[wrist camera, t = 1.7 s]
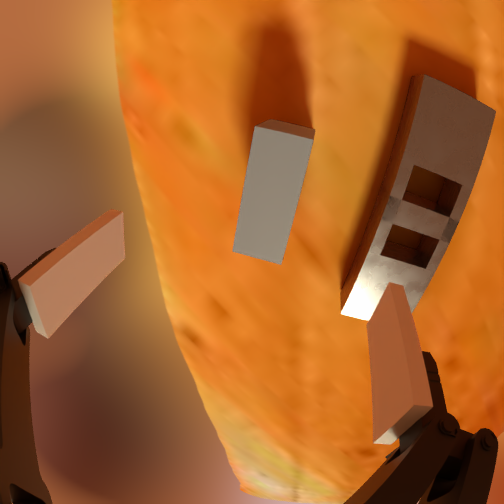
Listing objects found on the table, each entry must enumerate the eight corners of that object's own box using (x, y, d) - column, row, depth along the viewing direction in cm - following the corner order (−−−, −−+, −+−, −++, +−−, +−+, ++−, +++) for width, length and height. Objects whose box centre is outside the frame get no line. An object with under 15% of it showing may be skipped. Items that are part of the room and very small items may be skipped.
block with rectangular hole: (411, 76, 22) (424, 74, 19) (477, 107, 22) (496, 111, 18) (340, 292, 36) (340, 313, 33) (397, 307, 35) (402, 328, 32)
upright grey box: (276, 116, 28) (254, 126, 19) (316, 125, 27) (313, 139, 19) (257, 206, 33) (232, 251, 24) (293, 216, 33) (281, 264, 24)
